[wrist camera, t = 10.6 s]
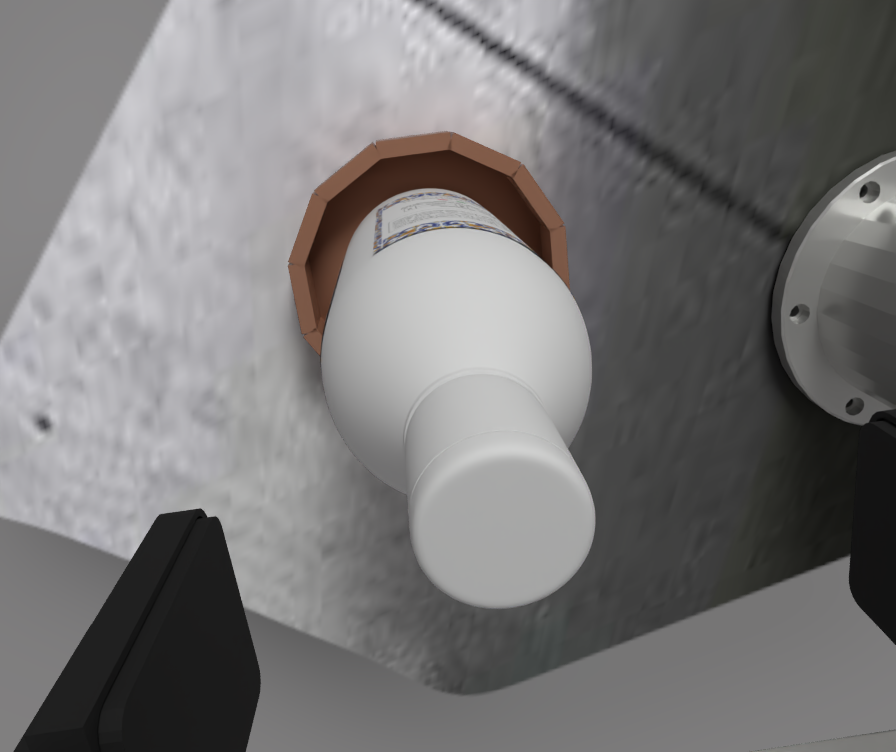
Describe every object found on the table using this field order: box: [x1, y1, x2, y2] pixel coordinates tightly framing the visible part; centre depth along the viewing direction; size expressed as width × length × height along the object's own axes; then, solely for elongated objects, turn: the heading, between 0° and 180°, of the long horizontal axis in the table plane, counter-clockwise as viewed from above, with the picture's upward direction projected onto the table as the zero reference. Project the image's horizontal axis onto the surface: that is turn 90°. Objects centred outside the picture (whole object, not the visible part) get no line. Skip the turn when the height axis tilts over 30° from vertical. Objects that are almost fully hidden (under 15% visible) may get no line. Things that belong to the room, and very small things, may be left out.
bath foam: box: [320, 188, 595, 609], centre depth 21 cm, size 7×7×20 cm
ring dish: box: [288, 131, 570, 355], centre depth 29 cm, size 11×11×3 cm
